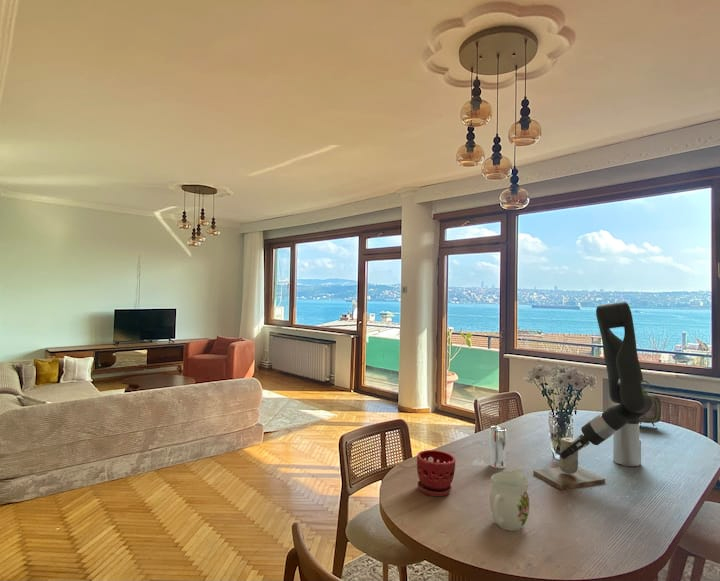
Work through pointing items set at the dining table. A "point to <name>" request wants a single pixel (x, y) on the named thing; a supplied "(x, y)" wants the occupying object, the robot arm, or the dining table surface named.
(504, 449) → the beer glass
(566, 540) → the dining table surface
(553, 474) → the walnut board
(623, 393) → the robot arm
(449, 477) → the plant pot
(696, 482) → the dining table surface
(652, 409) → the tabletop clock
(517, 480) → the pitcher
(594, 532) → the dining table surface
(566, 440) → the carving
